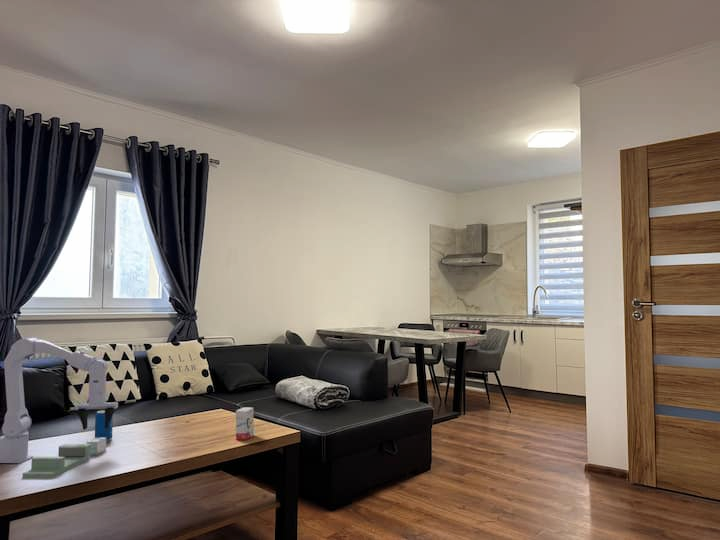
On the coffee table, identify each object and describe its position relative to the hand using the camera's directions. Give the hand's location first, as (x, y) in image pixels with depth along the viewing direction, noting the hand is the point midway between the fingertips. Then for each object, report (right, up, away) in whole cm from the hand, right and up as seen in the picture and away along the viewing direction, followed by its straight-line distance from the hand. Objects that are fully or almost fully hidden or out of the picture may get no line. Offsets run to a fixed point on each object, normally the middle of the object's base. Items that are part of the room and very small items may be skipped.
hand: (96, 428), depth 184 cm
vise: (-4, -8, -16) cm, 19 cm away
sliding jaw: (-4, -7, -7) cm, 11 cm away
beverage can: (-7, -11, +19) cm, 23 cm away
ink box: (+51, -11, +21) cm, 57 cm away
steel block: (-1, -10, +1) cm, 10 cm away
